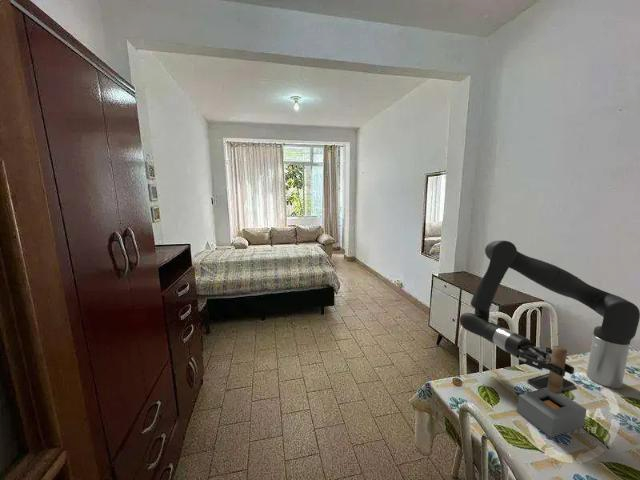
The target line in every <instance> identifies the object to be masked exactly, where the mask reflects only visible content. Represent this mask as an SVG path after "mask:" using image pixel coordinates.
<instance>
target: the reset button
mask: <svg viewBox="0 0 640 480" xmlns="http://www.w3.org/2000/svg"><path fill="white" fill-rule="evenodd" d="M543 402H544V403H546V404H547V405H549V406H550V407H552V408H553V409H558V408H560V407H559V406H557V405H556V404H554V403H553V402H551V401H550V400H547V401H543Z"/></svg>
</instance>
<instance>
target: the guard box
mask: <svg viewBox="0 0 640 480" xmlns="http://www.w3.org/2000/svg"><path fill="white" fill-rule="evenodd" d="M517 397H518V398H517V406H516V412H517V414H519V415H520V416H522V417H523V418H525V419H526V420H527V421H528V422H529V423H531V424H532V425H534V426H535V427H536V428H537V429H539V430H540V431H541V432H543V433H544V434H545V435H546V436H547V437H549V438H551V439H552V438H554V437H557V436H560V435H564V434H565V433H569V432H572V431H574V430H578V429H581V428H583V427H584V425H585V419H586V414H587V408H586V407H584V406H582V405H581V404H579V403H578V402H575V401H574V400H573V399H571V398H569V397H568V396H566V395H565V394H563V393H561V394H556V393H553V392H551V391H549V390H548V389H547V387H546V388H543V389H539V390H538V389H536V390H531V391H527V392H524V393H521V394H518V396H517ZM547 400H550V401H551V402H553V403H554V404H556V405H557V406H559V407H560V408H558V409H553V408H552V407H550V406H549V405H547V404H546V403H544V402H543V401H547Z"/></svg>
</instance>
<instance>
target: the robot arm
mask: <svg viewBox="0 0 640 480" xmlns="http://www.w3.org/2000/svg"><path fill="white" fill-rule="evenodd" d="M484 254H485V255H486V257H487V258H488V259H489V260H490V261H489V264H488V267H487V270H486V272H485V273H484V275H483V277H482V278H481V280H480V281H479V283H478V284H477V286H476V289H475V290H474V293H473V295H472V297H471V300H470V306H471V307H473V308H474V313H471V312H464V313H462V314H461V315H460V317H459V323H460V325H461V327H463V329H465V330H466V331H468V332H470V333H471V334H474V335H476V336H479V337H481V338H484V339H485V340H486V341H488V342H490V343H491V344H493V345H495V346H497V347H498V348H499V349H501V350H503V351H504V352H506V353H508V354H510V356H511V355H512V356H513V357H515V358H517V359H518V362H519V363H522V364H523V365H527V366H530V367H532V368H535V369H537V370H539V371H540V370H541V371H542V370H546V371H552V372H554V373H556V374H558V375H559V376H561V377H563V378H564V377H565V376H566V373H568V374H569V375H573V374H575V373H574V372H575V367H574V366H572V365H569V364H567V363H566V362H565V369H562V368H560V367H558V366H557V365H554V364H553V363H551V356H552V349H553V348H550V347H545V349H542V348H541V347H538V346H535V345H534V344H533V342H532V340H531V339H529V338H526V337H525V336H523V335H520V334H518V333H516V332H515V331H512V330H510V329H508V328H506V327H502V326H501V325H499V324H496V323H494V322H490V321H489V320H490V309H491V306H492V304H493V302H494V299H495V297H496V294H497V291H498V289H499V286H500V285H501V283H502V280H503V279H504V278H505V275H506V273H507V271H508V270H509V269H511V270H513V271H516V272H517V273H519V274H521V275H522V276H524V277H525V278H528V279H529V280H531V281H533V282H534V283H536V284H537V285H540V286H541V287H544V288H545V289H547V290H549V291H551V292H553V293H556V294H558V295H561V296H564V297H566V298H571V299H572V300H575V301H577V302H579V303H582V304H583V305H585V306H586V307H587V308H589V309H591V310H593V311H594V312H596V313H597V314H598V315H600V316H601V317H603V318H602V323H601V325H598V326H595V327H594V329H593V332H592V333H593V335H592V340H591V347H590V353H589V358H588V363H587V368H586V369H587V370H586V376H587V377H588V379H589V380H592V381H593V382H594V383H596V384H599V385H601V386H605V387H607V388H610V389H621V388H622V387H623V384H624V383H623V382H624V377H625V372H626V367H627V361H628V356H629V351H630V346H631V341H632V340H633V339H634V338H635V336H636V333H637V330H638V327H639V322H640V309H639V307H638V306H637V305H636V304H634V303H633V302H631V301H630V300H627V299H625V298H623V297H621V296H619V295H616V294H614V293H610V292H608V291H605V290H602V289H600V288H597V287H595V286H592V285H590V284H589V283H586V282H585V281H583V280H582V279H581V278H579V277H578V276H576V275H574V274H572V273H571V272H569V271H567V270H565V269H563V268H561V267H560V266H559V267H558V266H557V265H554V264H552V263H549V262H546V261H544V260H541V259H538V258H534V257H532V256H528V255H526V254H525V253H524V254H523V253H521V252H519V251H518V249H517V247H516V245H515V244H514V243H513V242H510V240H509V241H508V240H494V241H491V242H489V243H488V244H487V245H486V246H485V248H484Z"/></svg>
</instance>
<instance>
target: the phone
mask: <svg viewBox="0 0 640 480" xmlns="http://www.w3.org/2000/svg"><path fill="white" fill-rule="evenodd" d="M548 378H549V373H545V374H542V375H538V376H535V377H532V378H529V379H527V380H526V382H527V384H528V385H530V386H532V387H533V388H534V389H536V390H539V389H543V388H546V387H547V386H548ZM575 387H576V384H575V383H573V382H572V381H570V380H567V379H566V378H564V377H563V382H562V389H561V393H562V392H565V391H568V390H572V389H575Z"/></svg>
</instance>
